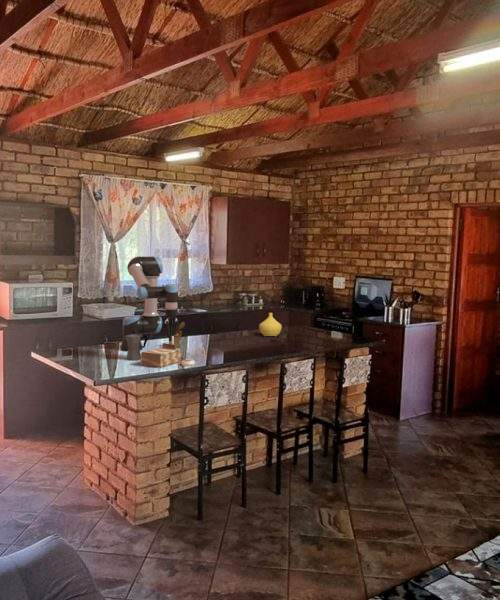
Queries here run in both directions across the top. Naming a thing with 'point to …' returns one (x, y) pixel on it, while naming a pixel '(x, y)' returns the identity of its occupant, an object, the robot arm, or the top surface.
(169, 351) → the lid
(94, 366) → the top surface
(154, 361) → the box
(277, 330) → the vase
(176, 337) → the wooden mug
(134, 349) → the coffeepot
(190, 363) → the tape roll
